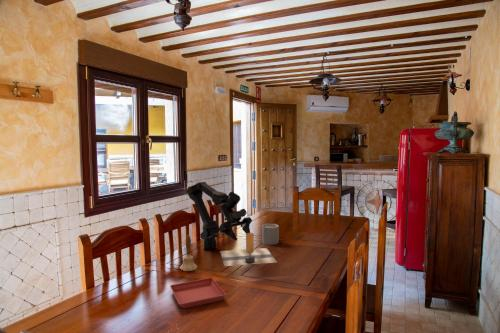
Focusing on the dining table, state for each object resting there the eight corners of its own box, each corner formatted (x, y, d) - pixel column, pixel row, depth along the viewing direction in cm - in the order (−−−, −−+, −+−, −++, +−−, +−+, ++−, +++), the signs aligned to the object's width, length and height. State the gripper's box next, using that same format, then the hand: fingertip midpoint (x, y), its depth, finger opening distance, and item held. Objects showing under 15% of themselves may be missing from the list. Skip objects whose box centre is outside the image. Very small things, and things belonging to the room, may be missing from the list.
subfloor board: (224, 268, 167) (224, 266, 167) (219, 253, 190) (219, 251, 190) (277, 264, 172) (277, 262, 172) (266, 249, 194) (266, 248, 194)
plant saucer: (179, 312, 125) (179, 303, 125) (169, 292, 142) (169, 284, 142) (226, 302, 132) (226, 294, 132) (212, 284, 149) (212, 277, 149)
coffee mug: (272, 245, 202) (272, 228, 201) (258, 242, 208) (258, 226, 208) (285, 240, 212) (285, 224, 212) (272, 237, 219) (272, 221, 218)
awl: (246, 263, 170) (246, 235, 169) (244, 260, 175) (244, 233, 174) (255, 263, 171) (255, 234, 170) (253, 259, 176) (253, 232, 174)
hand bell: (200, 266, 170) (199, 233, 169) (192, 272, 163) (191, 238, 161) (185, 264, 173) (184, 232, 172) (176, 270, 165) (175, 237, 164)
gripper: (221, 206, 172) (236, 232, 164) (249, 201, 184) (264, 225, 177) (212, 219, 178) (226, 245, 171) (240, 214, 191) (254, 238, 183)
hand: (243, 238), depth 175 cm, fingers open, 9 cm apart
